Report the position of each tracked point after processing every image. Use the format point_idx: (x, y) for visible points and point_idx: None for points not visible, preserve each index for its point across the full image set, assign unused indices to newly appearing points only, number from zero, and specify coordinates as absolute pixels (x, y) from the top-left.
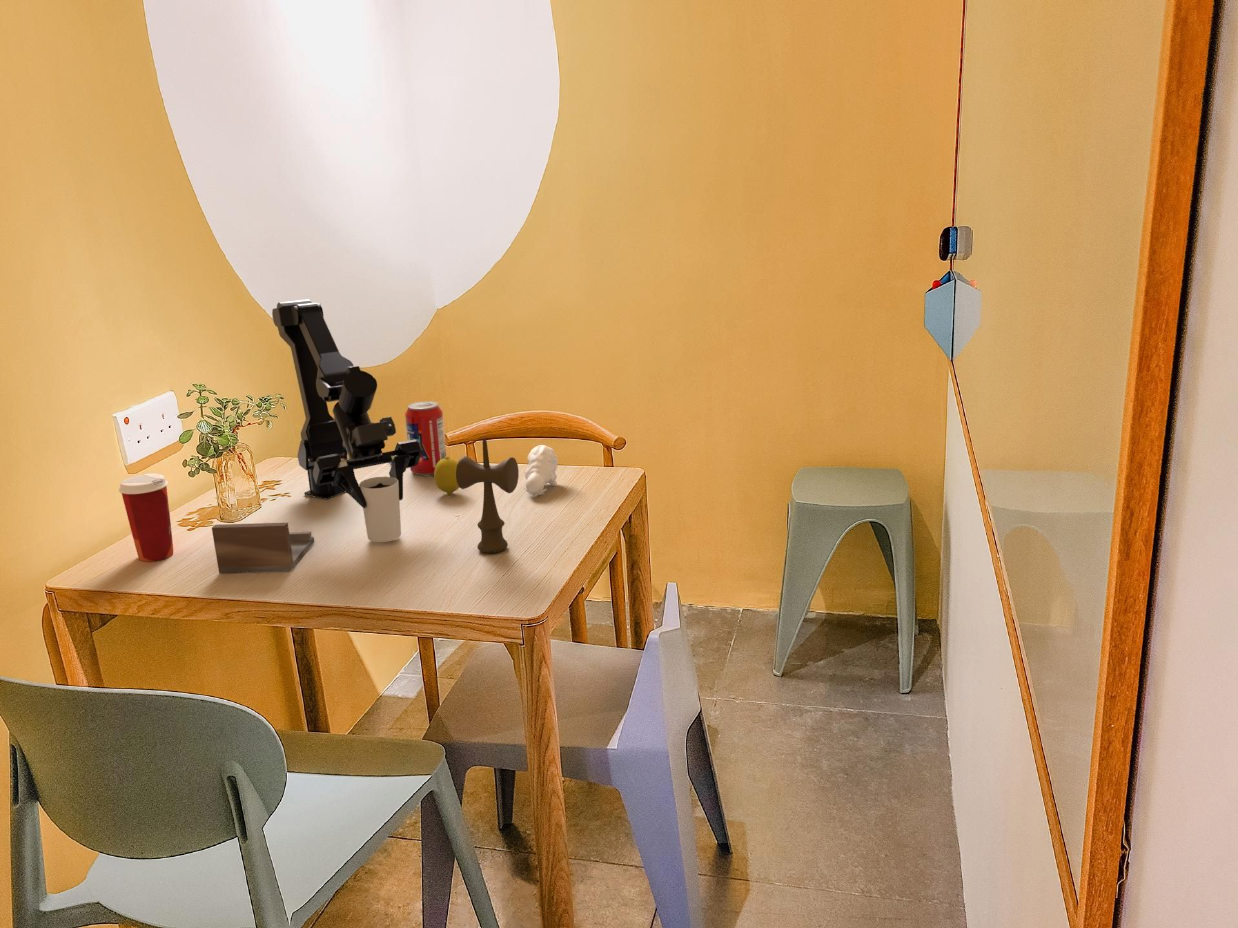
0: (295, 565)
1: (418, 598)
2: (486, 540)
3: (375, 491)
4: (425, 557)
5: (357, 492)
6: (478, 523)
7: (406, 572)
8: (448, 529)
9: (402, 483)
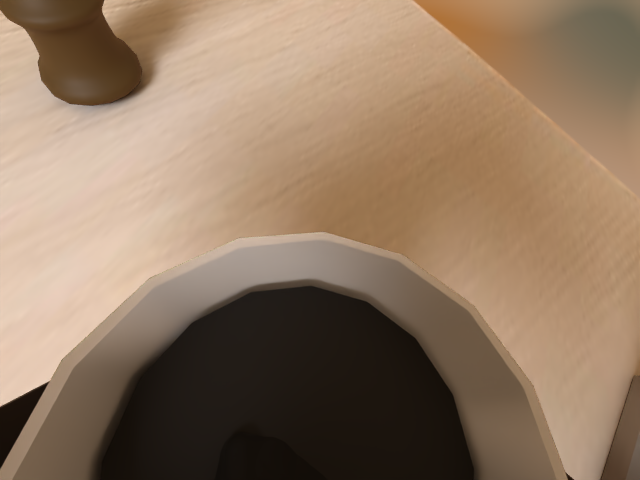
0: (622, 414)
1: (399, 30)
2: (113, 36)
3: (425, 295)
4: (268, 169)
5: (567, 477)
6: (82, 5)
7: (360, 131)
8: (13, 329)
9: (8, 402)
